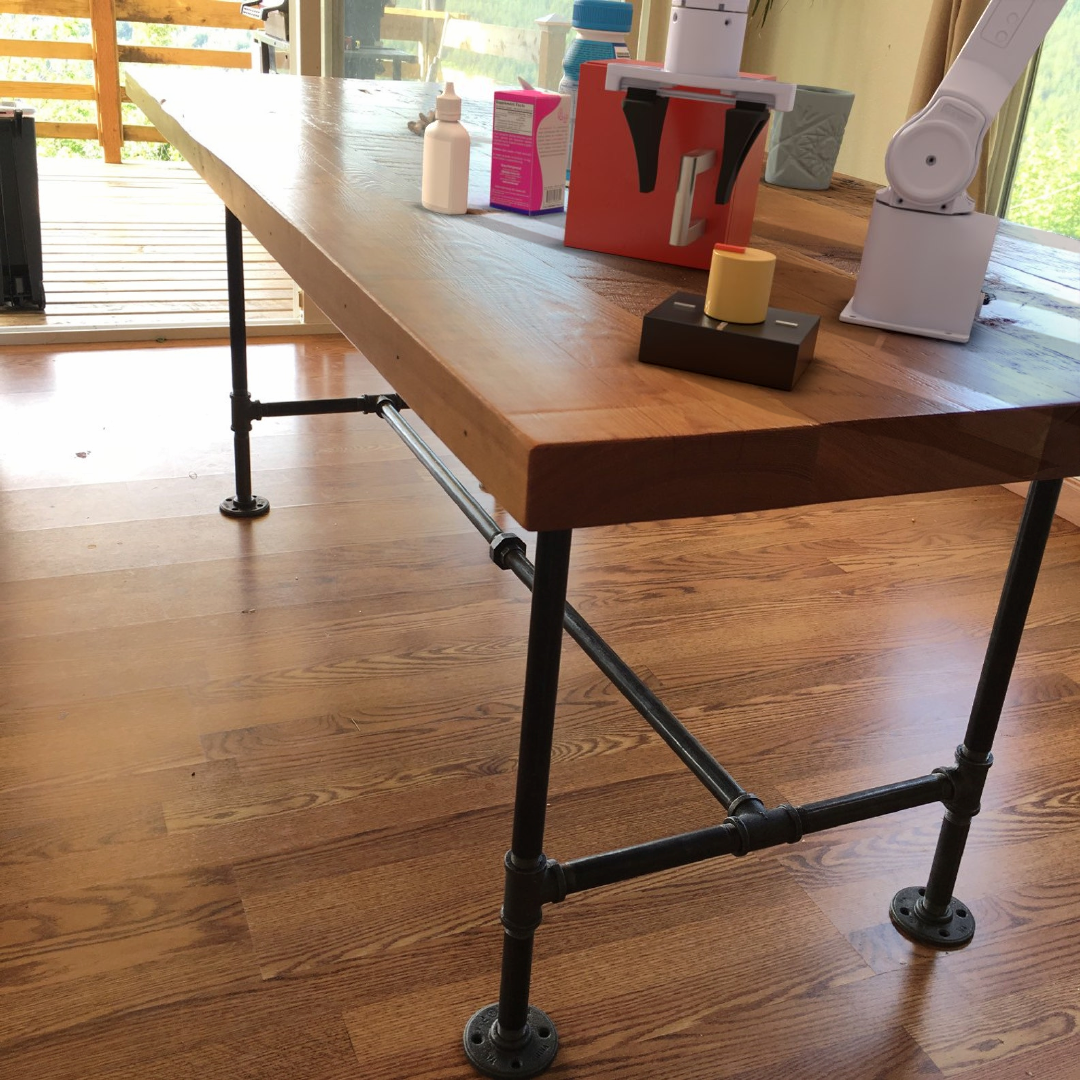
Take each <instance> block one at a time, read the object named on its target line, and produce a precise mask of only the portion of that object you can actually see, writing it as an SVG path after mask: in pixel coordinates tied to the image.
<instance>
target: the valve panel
mask: <svg viewBox="0 0 1080 1080" xmlns="http://www.w3.org/2000/svg"><path fill="white" fill-rule="evenodd" d="M705 302H706V295H704V294H698V293H692V292H686V291H681V290H677V291H675V292H674V293H673V294H671V295H670V296H668V297H667V298H665V299H664V300H663V301H662V302H660V303H659V304H658V305H656V306H655V307H654V308H652V309H651V310H649V311H648V312H646V314H644V315H643V317H642V325H641V333H640V341H639V348H638V357H637V361H638V362H644V363H647V364H653V365H657V366H662V367H668V368H673V369H678V370H683V371H689V372H693V373H697V374H703V375H707V376H708V375H709V376H713V377H718V378H723V379H727V380H731V381H732V380H733V381H737V382H742V383H747V384H748V383H749V384H752V385H758V386H761V387H768V388H773V389H776V390H777V389H778V390H783V391H788V392H791V391H792V390H793V388H794V387H795V385H796V384H797V382H798V381H799V379H800V378H801V377H802V375H803V373H804V372H805V371H806V369H807V368H808V366H809V365H810V363H811V362H812V361H813V359H814V355H815V349H816V345H817V344H816V343H817V339H818V335H819V330H820V324H821V320H822V316H821V315H816V314H810V313H805V312H800V311H794V310H788V309H783V308H778V307H777V308H776V307H771V306H768V308H767V314H766V319H765V320H764V321H762V322H759V323H734V322H728V321H723V320H719V319H716V318H713V317H711V316H709V315H707V314H706V313H705V312H704V308H705Z"/></svg>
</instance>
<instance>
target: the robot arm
mask: <svg viewBox="0 0 1080 1080" xmlns="http://www.w3.org/2000/svg"><path fill="white" fill-rule="evenodd" d="M1068 1H1069V0H990V1H989V2H988V4H987V5H986V8H985V9H984V11H983V13H982V14H981V16H980V18H979V19H978V21H977V23H976V25H975V26H974V28H973V29H972V31H971V33H970V35H969V36H968V37H967V40H966V42H965V43H964V45H963V46H962V48H961V50H960V51H959V53H958V55H957V57H955V60H954V61H953V63H952V65H951V66H950V67H949V70H947V73H946V74H945V76H944V77H943V79H942V81H941V82H940V84H939V86H938V87H937V89H936V90H935V92H934V94H933V96H932V97H931V98H930V100H929V102H928V103H927V104H926V106H925V107H924V108H922V109H921V110H919V111H917V112H916V113H915V114H913V115H912V116H911V117H910V118H909V119H908V120H907V121H906V122H905V123H903V124H902V126H900V128H898V129H897V131H895V133H894V135H893V136H892V137H891V139H890V141H889V143H888V145H887V149H886V152H885V155H884V156H885V157H884V171H885V175H886V176H885V177H886V179H887V182H888V184H889V185H888V186H886V187H883V188H880V189H877V190H875V193H874V198H873V203H872V208H871V212H870V217H869V222H868V225H867V231H866V236H865V241H864V246H863V250H862V255H861V260H860V265H859V270H858V274H857V279H856V284H855V288H854V293H853V296H852V297H851V298H850V299H849V301H848V303H847V304H846V305H845V307H844V308H843V310H842V311H841V312H840V314H839V317H838V320H839V321H840V322H843V323H850V324H855V325H860V326H866V327H871V328H877V329H881V330H888V331H893V332H900V333H905V334H910V335H916V336H921V337H928V338H932V339H933V338H934V339H939V340H945V341H950V342H954V343H962V344H967V343H968V342H969V340H970V335H971V331H972V328H973V324H974V320H975V318H979V317H980V315H981V312H982V308H983V304H984V301H985V297H986V293H985V292H982V289H983V286H984V282H985V278H986V275H987V271H988V267H989V263H990V259H991V255H992V251H993V249H994V248H993V247H994V243H995V239H996V237H997V232H998V229H999V228H998V227H999V224H1000V220H1001V218H1000V217H999V216H996V215H991V214H984V213H979V212H976V211H974V210H975V207H976V200H975V199H974V198H972V197H971V196H970V194H969V193H968V191H967V188H968V187H969V186H970V184H971V183H972V182H973V181H974V179H975V176H976V174H977V172H978V169H979V165H980V158H981V155H982V152H983V142H984V141H983V140H984V138H985V136H986V134H987V132H988V130H989V129H990V127H991V125H992V123H994V120H995V119H996V118H997V116H998V114H999V112H1000V110H1001V108H1002V107H1003V105H1004V103H1005V102H1006V100H1007V99H1008V97H1009V96H1010V94H1011V92H1012V90H1013V89H1014V87H1015V85H1016V83H1017V82H1018V80H1019V79H1020V77H1021V76H1022V74H1023V72H1024V71H1025V69H1026V68H1027V66H1028V64H1029V63H1030V62H1031V60H1032V58H1033V56H1034V55H1035V53H1036V52H1037V50H1038V49H1039V47H1040V45H1041V44H1042V42H1043V41H1044V39H1045V37H1046V35H1047V34H1048V33H1049V31H1050V29H1051V28H1052V26H1053V24H1054V23H1055V22H1056V20H1057V18H1058V16H1059V15H1060V14H1061V12H1062V10H1063V9H1064V7H1065V6H1066V4H1067V2H1068ZM750 2H751V0H671V8H670V16H669V24H668V31H667V32H668V33H667V38H666V39H667V41H666V46H665V47H666V50H665V55H664V56H665V58H664V63H665V64H664V68H661V67H651V66H640V65H630V64H621V63H609V64H608V66H607V76H606V86H605V90H611V91H627V95H626V98H625V99H622V110H623V113H624V115H625V118H626V121H627V123H628V126H629V130H630V133H631V136H632V140H633V144H634V149H635V154H636V160H637V167H638V177H639V192H640V193H649V192H652V191H654V189H655V184H656V179H657V169H658V157H659V146H660V141H661V135H662V130H663V125H664V120H665V116H666V112H667V108H668V104H669V98H670V97H676V98H684V99H692V100H700V101H708V102H716V103H724V104H732V105H735V108H730V109H726V114H725V133H724V146H723V156H722V164H721V169H720V174H719V178H718V183H717V188H716V196H715V204H719V205H725V204H726V203H728V202H729V200H730V197H731V193H732V190H733V187H734V184H735V181H736V179H737V176H738V174H739V171H740V169H741V167H742V165H743V163H744V160H745V158H746V156H747V155H748V153H749V151H750V149H751V147H752V145H753V144H754V142H755V140H756V139H757V137H758V135H759V134H760V132H761V131H762V129H763V127H764V126H765V125H766V123H767V121H768V119H769V117H770V118H771V114H772V112H771V113H770V112H769V109H771V110H772V111H774V110H775V111H781V112H790V111H792V110H793V105H794V99H795V94H796V88H797V83H793V82H785V81H778V80H776V81H770V80H763V79H756V78H749V77H742V76H739V72H740V68H741V63H742V55H743V49H744V41H745V35H746V29H747V22H748V15H749V14H748V13H749V8H750ZM678 85H682V86H690V87H699V88H709V89H720V90H721V92H720V93H721V94H725V95H735V97H729V96H720V95H712V94H704V93H696V92H687V91H679V90H671V89H663V88H662V87H665V88H673V87H677V86H678Z"/></svg>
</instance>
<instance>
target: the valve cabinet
mask: <svg viewBox="0 0 1080 1080" xmlns="http://www.w3.org/2000/svg"><path fill="white" fill-rule="evenodd" d="M586 63H588V64H596V65H605V66H608V64H609V63H621V64H630V65H640V66H651V67H661V68H664V64H665V62H657V61H650V60H641V59H633V58H632V59H609V60H595V61H586ZM739 76H742V77H749V78H756V79H763V80H770V81H777V78H778V77H777V75H770V74H763V73H753V72H746V71H745V72H744V71H739ZM769 112H770V113H771V114H772V109H769ZM770 121H771V116H770V117H769V119H768V121H767V123H766V125H765V126H764V127H763V129H762V131H761V132H760V134H759V135H758V137H757V139H756V140H755V142H754V144H753V145H752V147H751V149H750V151H749V153H748V155H747V156H746V158H745V160H744V163H743V165H742V167H741V169H740V171H739V174H738V176H737V179H736V186H735V192H734V198H733V205H732V211H731V218H730V224H729V230H728V237H727V243H726V245H732V246H738V247H747V248H750V241H751V235H752V228H753V224H754V223H753V222H754V218H755V212H756V205H757V200H758V199H757V198H758V193H759V188H760V181H761V176H762V175H761V174H762V169H763V163H764V156H765V150H766V145H767V139H768V133H769V132H768V131H769V126H770Z"/></svg>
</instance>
